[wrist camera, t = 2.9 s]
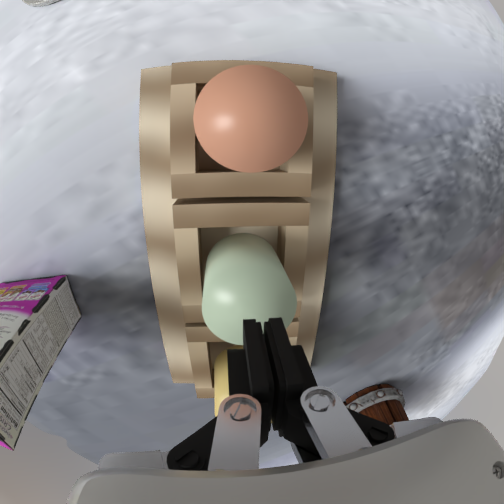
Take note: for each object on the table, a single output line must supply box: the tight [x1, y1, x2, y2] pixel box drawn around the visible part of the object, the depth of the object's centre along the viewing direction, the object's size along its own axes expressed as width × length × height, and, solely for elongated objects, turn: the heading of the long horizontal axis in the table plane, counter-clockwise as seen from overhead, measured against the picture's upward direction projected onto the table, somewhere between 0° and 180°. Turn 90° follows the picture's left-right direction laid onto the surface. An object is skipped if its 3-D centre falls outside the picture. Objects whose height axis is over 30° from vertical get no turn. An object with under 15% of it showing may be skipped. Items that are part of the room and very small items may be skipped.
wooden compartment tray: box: [139, 60, 337, 398], centre depth 20 cm, size 28×14×4 cm, turn 179°
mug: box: [343, 384, 409, 425], centre depth 27 cm, size 12×14×15 cm
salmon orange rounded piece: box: [193, 65, 308, 173], centre depth 13 cm, size 5×5×5 cm
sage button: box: [202, 233, 297, 345], centre depth 16 cm, size 5×5×5 cm
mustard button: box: [214, 345, 272, 423], centre depth 19 cm, size 5×5×5 cm
